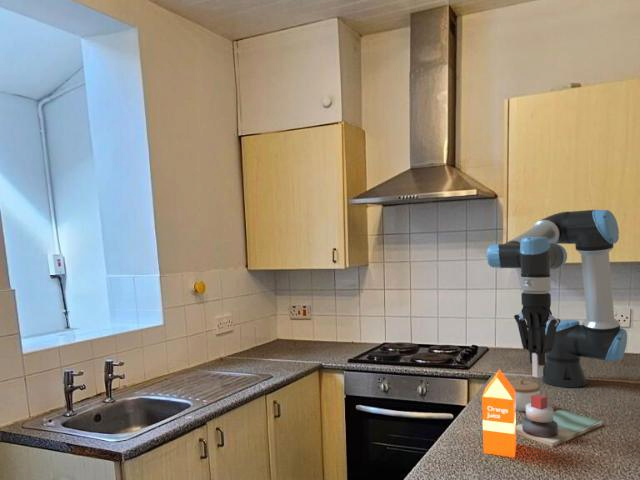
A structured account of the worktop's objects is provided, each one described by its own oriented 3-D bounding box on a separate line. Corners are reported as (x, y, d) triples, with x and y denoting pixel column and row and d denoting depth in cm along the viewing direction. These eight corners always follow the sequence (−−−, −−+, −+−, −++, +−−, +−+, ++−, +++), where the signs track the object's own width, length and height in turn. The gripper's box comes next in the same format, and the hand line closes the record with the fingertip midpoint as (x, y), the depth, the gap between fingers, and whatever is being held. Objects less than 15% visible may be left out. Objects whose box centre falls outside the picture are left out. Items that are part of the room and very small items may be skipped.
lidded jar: (510, 400, 166) (510, 373, 166) (544, 406, 159) (543, 378, 159) (499, 409, 158) (498, 380, 158) (534, 416, 151) (533, 386, 151)
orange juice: (483, 452, 127) (480, 375, 127) (486, 439, 135) (484, 367, 135) (515, 457, 123) (513, 378, 123) (517, 444, 131) (515, 369, 131)
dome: (535, 411, 142) (535, 391, 142) (558, 418, 136) (557, 397, 136) (520, 416, 138) (520, 395, 138) (543, 424, 132) (543, 402, 132)
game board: (559, 412, 153) (559, 401, 153) (602, 425, 142) (602, 413, 142) (509, 431, 140) (509, 419, 140) (552, 446, 129) (552, 433, 129)
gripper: (507, 291, 140) (509, 373, 140) (549, 294, 129) (551, 383, 129) (523, 289, 144) (525, 369, 144) (565, 292, 133) (568, 379, 133)
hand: (537, 376), depth 137 cm, fingers closed
